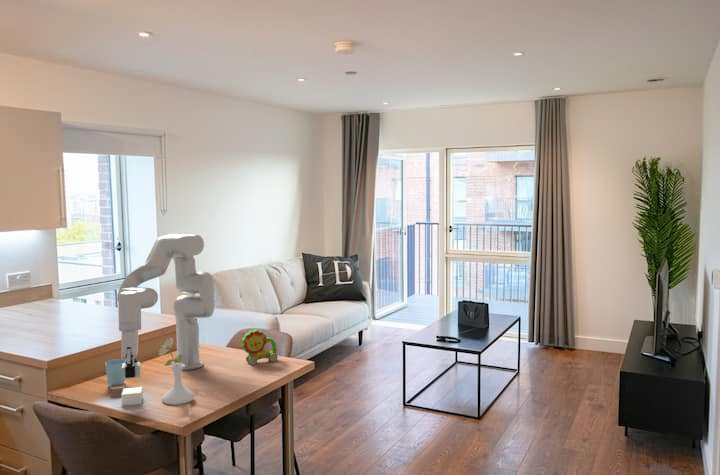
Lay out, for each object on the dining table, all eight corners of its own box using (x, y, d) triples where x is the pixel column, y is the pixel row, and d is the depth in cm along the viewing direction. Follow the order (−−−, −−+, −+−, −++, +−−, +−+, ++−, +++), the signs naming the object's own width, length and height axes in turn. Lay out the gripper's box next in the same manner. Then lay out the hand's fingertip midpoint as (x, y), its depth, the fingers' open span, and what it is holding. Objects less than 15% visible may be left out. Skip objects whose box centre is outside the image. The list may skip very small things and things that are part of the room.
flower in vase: (181, 394, 216) (179, 330, 214) (200, 400, 209) (199, 334, 207) (151, 404, 205) (149, 337, 203) (171, 412, 198) (169, 342, 196)
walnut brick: (112, 394, 215) (111, 384, 215) (126, 393, 217) (126, 383, 216) (110, 399, 211) (110, 389, 210) (124, 398, 212) (124, 387, 212)
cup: (114, 392, 217) (114, 365, 217) (101, 389, 221) (100, 363, 220) (131, 386, 224) (130, 360, 223) (117, 383, 228) (116, 358, 227)
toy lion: (273, 358, 263) (273, 326, 261) (278, 361, 258) (277, 328, 257) (240, 363, 255) (240, 330, 253) (244, 366, 250) (244, 333, 249)
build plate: (119, 400, 209) (119, 397, 209) (148, 397, 212) (148, 395, 212) (115, 410, 200) (115, 407, 199) (145, 407, 202) (145, 404, 202)
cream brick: (124, 399, 208) (123, 388, 208) (142, 397, 210) (142, 386, 209) (121, 405, 202) (121, 394, 201) (141, 403, 203) (140, 392, 203)
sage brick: (122, 374, 206) (122, 363, 206) (140, 372, 208) (140, 361, 208) (121, 379, 201) (121, 368, 201) (139, 377, 203) (139, 366, 203)
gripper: (122, 320, 210) (123, 368, 212) (115, 331, 194) (117, 382, 195) (143, 319, 213) (144, 366, 214) (138, 330, 196) (140, 380, 197)
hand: (131, 373), depth 205 cm, fingers closed on sage brick, 6 cm apart
